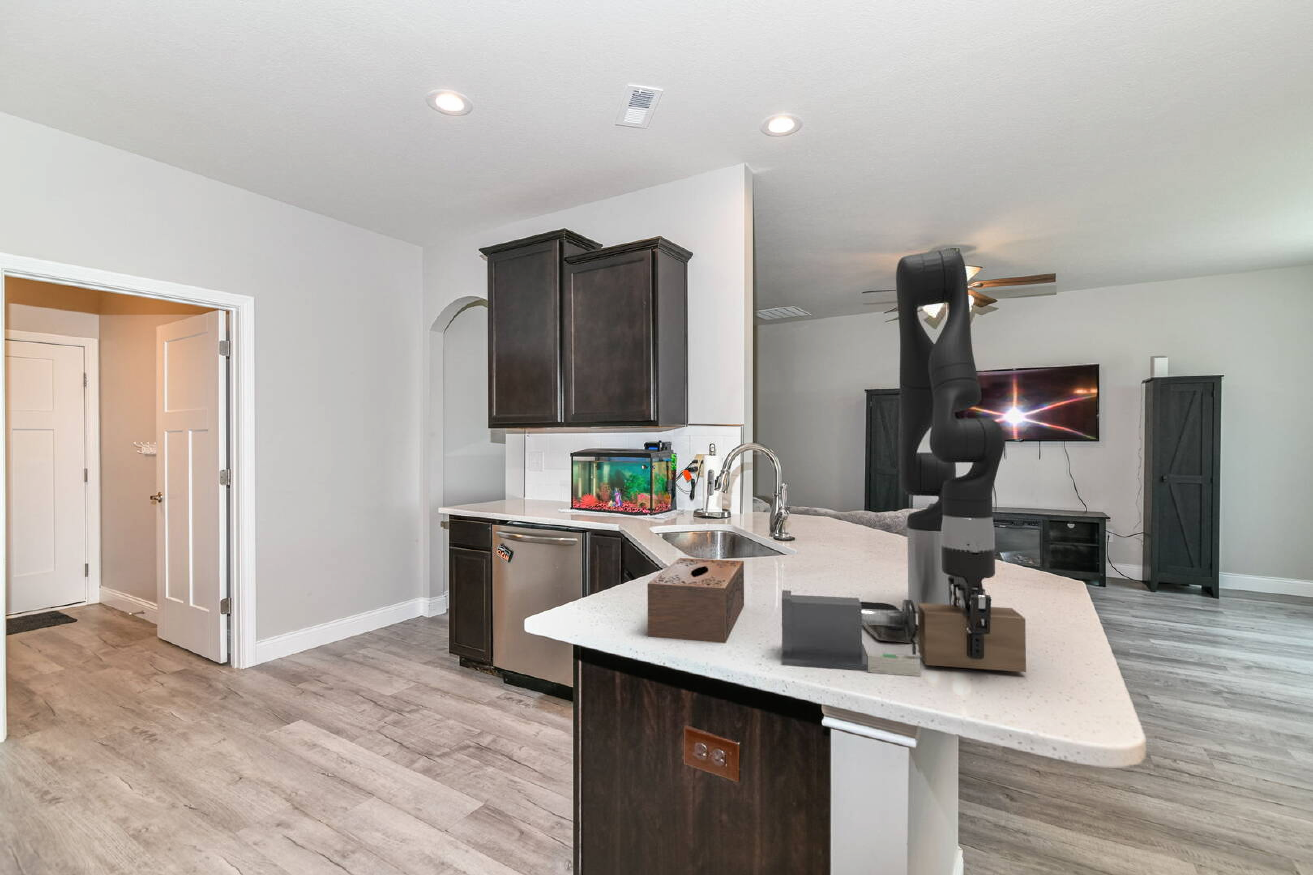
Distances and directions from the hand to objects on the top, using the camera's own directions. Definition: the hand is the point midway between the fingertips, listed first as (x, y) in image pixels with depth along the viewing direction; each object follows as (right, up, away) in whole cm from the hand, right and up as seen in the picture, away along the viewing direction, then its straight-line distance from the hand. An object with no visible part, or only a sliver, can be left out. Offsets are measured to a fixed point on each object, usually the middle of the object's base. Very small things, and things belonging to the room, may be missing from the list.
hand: (968, 650), depth 95 cm
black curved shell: (-6, -3, +19) cm, 20 cm away
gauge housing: (-18, -3, +4) cm, 19 cm away
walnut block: (0, -2, 0) cm, 2 cm away
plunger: (-15, 0, +2) cm, 15 cm away
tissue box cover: (-41, -4, +26) cm, 48 cm away
